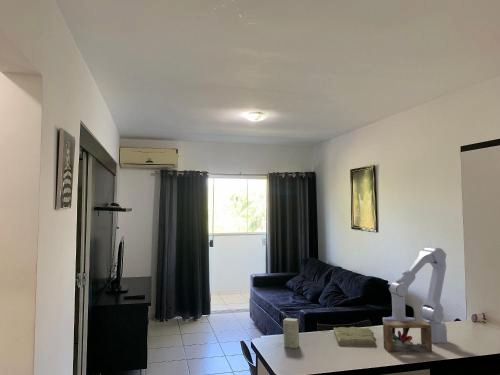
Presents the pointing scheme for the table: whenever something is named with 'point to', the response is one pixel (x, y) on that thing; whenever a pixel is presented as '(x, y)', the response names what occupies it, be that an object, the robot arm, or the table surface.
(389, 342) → the walnut shelf
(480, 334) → the table surface
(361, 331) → the folded green towel
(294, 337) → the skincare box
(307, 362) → the table surface
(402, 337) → the multicoloured spiky piece
